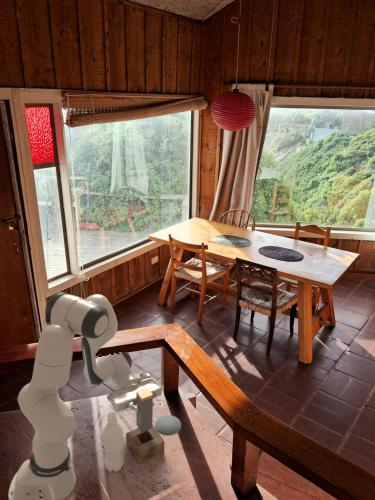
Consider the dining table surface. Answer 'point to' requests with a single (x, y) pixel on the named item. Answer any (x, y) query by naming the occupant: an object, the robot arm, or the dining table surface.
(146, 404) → the plug peg
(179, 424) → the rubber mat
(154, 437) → the block
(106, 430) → the water bottle
